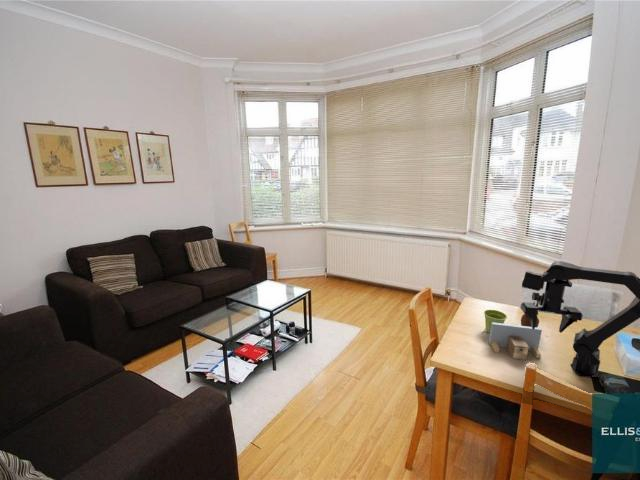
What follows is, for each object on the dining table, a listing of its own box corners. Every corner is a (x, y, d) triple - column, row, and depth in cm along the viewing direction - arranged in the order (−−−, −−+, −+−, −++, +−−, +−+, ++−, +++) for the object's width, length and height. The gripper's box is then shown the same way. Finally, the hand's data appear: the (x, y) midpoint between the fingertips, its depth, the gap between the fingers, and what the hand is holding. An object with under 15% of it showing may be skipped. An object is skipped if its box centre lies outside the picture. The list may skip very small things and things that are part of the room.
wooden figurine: (537, 330, 142) (543, 300, 138) (535, 335, 138) (541, 305, 134) (520, 325, 146) (525, 296, 143) (518, 330, 142) (523, 300, 138)
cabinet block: (520, 350, 128) (522, 337, 126) (526, 361, 121) (529, 348, 119) (507, 348, 129) (509, 335, 128) (512, 359, 122) (514, 346, 121)
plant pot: (477, 328, 144) (479, 312, 142) (489, 323, 148) (492, 307, 146) (495, 338, 136) (498, 321, 134) (508, 333, 140) (511, 316, 138)
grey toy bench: (536, 349, 128) (540, 328, 126) (542, 358, 122) (546, 336, 120) (488, 342, 133) (491, 322, 130) (492, 351, 127) (495, 330, 124)
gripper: (572, 288, 121) (564, 323, 125) (519, 283, 126) (513, 317, 130) (587, 300, 111) (578, 338, 115) (528, 294, 116) (522, 331, 120)
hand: (546, 330), depth 120 cm, fingers open, 9 cm apart
